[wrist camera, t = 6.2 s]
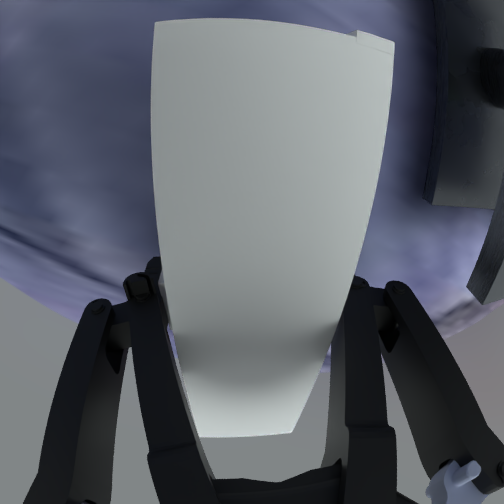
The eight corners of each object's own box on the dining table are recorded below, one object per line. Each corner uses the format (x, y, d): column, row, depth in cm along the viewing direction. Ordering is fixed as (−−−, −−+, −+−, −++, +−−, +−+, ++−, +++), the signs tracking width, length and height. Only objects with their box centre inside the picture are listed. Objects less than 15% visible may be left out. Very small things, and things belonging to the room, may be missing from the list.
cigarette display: (196, 62, 12) (155, 14, 4) (300, 67, 13) (395, 42, 5) (203, 338, 22) (201, 443, 14) (269, 337, 23) (288, 439, 15)
